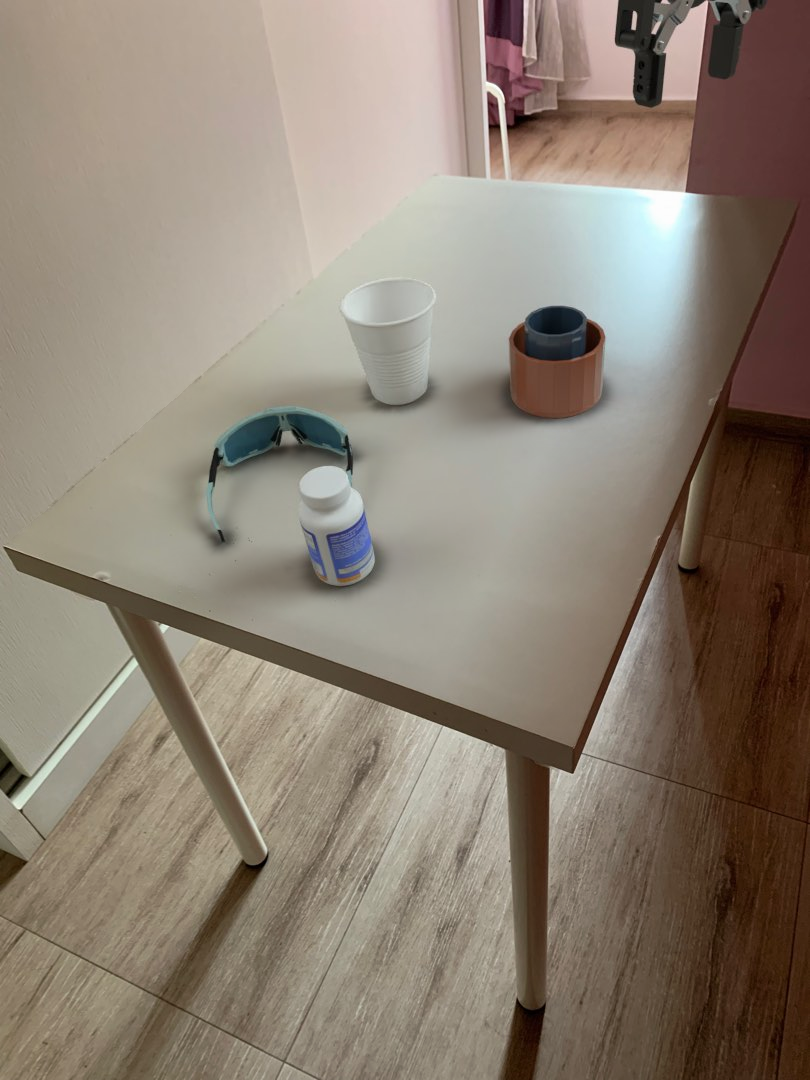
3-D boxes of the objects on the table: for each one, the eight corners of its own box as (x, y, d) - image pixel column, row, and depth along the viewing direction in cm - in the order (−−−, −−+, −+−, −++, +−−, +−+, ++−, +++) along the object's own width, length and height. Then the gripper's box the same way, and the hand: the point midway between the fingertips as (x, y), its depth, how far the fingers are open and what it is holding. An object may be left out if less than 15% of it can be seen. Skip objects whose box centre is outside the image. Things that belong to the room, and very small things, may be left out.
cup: (461, 377, 90) (453, 285, 82) (414, 426, 84) (402, 332, 77) (387, 359, 95) (373, 270, 87) (338, 405, 89) (319, 314, 81)
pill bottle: (383, 547, 72) (366, 462, 65) (364, 592, 68) (345, 506, 62) (326, 540, 73) (304, 456, 67) (305, 584, 70) (280, 499, 63)
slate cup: (595, 388, 85) (599, 319, 79) (552, 412, 83) (553, 343, 77) (556, 366, 88) (557, 299, 83) (514, 388, 86) (512, 321, 81)
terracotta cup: (620, 391, 85) (625, 336, 80) (552, 429, 81) (553, 374, 77) (558, 357, 91) (559, 304, 86) (492, 391, 87) (490, 338, 83)
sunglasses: (358, 434, 84) (350, 398, 80) (355, 546, 75) (346, 512, 71) (226, 446, 85) (212, 411, 82) (207, 558, 76) (190, 525, 72)
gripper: (685, -158, 50) (658, 125, 61) (832, -193, 54) (782, 74, 66) (597, -155, 54) (587, 107, 66) (739, -187, 59) (708, 61, 70)
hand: (685, 90), depth 66 cm, fingers open, 8 cm apart
